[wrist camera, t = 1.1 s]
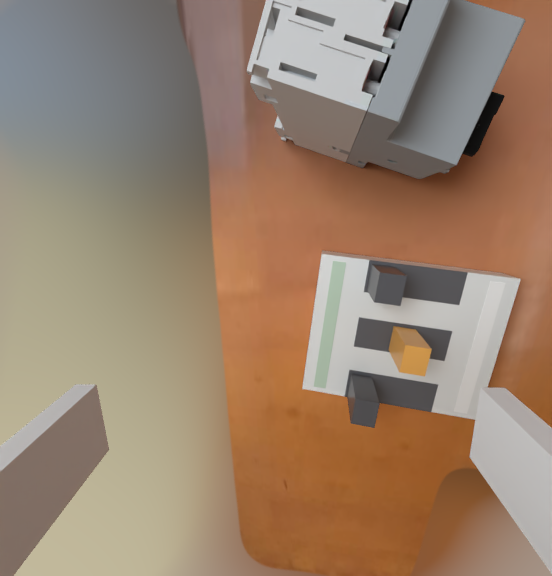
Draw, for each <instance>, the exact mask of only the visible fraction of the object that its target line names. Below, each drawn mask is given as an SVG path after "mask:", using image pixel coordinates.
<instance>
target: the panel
mask: <svg viewBox="0 0 552 576" xmlns="http://www.w3.org/2000/svg"><path fill="white" fill-rule="evenodd" d="M371 264H377V265H385V266H393V267H395V268H397V269H398V270H399V271H401V272H402V273H404V274H405V275H406V276H407V278H406V283H405V287H404V292H403V297H402V301H401V306H396V305H389V304H382V303H375V302H374V301H373V300H372V298H371V296H370V294H369V293H368V291H367V285H368V280H369V274H370V269H371ZM520 280H521V279H519V278H516V277H513V276H510V275H507V274H504V273H499V272H491V271H483V270H475V269H467V268H459V267H451V266H443V265H435V264H427V263H419V262H411V261H403V260H395V259H387V258H379V257H371V256H363V255H355V254H347V253H339V252H331V251H323V250H322V254H321V261H320V268H319V275H318V282H317V289H316V296H315V303H314V310H313V317H312V324H311V331H310V337H309V344H308V351H307V358H306V365H305V372H304V380H303V388H302V389H307V390H312V391H318V392H324V393H329V394H335V395H340V396H345V397H347V393H348V388H349V382H350V377H351V374H356V375H362V376H368V377H372V379H373V383H374V386H375V390H376V393H377V396H378V400H379V403H384V404H389V405H395V406H400V407H406V408H411V409H417V410H423V411H428V412H435V413H441V414H446V415H452V416H457V417H463V418H468V419H474V420H476V413H477V407H478V401H479V395H480V388H488V384H489V381H490V378H491V375H492V371H493V368H494V365H495V362H496V358H497V355H498V352H499V348H500V345H501V342H502V339H503V335H504V332H505V329H506V326H507V322H508V319H509V316H510V313H511V309H512V306H513V303H514V300H515V296H516V293H517V290H518V286H519V283H520ZM393 326H396V327H403V328H409V329H416V330H417V332H418V333H419V334H420V335H421V336H422V338H423V339H424V340H425V341H426V343H427V344H428V345H429V346H430V348H431V349H432V350H431V354H430V358H429V362H428V366H427V370H426V374H425V376H419V375H413V374H407V373H401V372H399V371H398V368H397V366H396V364H395V362H394V360H393V358H392V356H391V354H390V352H389V345H390V341H391V336H392V331H393Z"/></svg>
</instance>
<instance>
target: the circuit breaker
mask: <svg viewBox="0 0 552 576" xmlns="http://www.w3.org/2000/svg"><path fill="white" fill-rule="evenodd" d="M524 23H525V19H523V18H519V17H516V16H513V15H510V14H507V13H503V12H500V11H497V10H494V9H491V8H487V7H484V6H481V5H478V4H475V3H471V2H468V1H465V0H266V3H265V6H264V10H263V14H262V17H261V21H260V24H259V28H258V32H257V35H256V39H255V42H254V46H253V50H252V53H251V57H250V60H249V64H248V68H247V73H248V74H250V75H252V78H251V81H250V84H251V86H252V88H253V90H254V92H255V94H256V95H257V97H258V99H259V100H261V101H264V102H267V103H270V104H273V106H274V108H275V111H276V113H277V115H278V116H277V120H276V123H275V126H274V127H275V129H276V131H277V133H278V134H279V136H281V137H282V138H281V140H283V141H286V140H287V139H289V140H292V141H293V142H294V144H295V145H297V146H300V147H303V148H306V149H309V150H312V151H315V152H318V153H320V154H323V155H326V156H329V157H332V158H335V159H338V160H340V161H343V162H346V163H349V164H352V165H355V166H358V167H361V168H363V167H364V166H365V164H367V162H370V163H373V164H376V165H379V166H382V167H385V168H388V169H391V170H394V171H396V172H399V173H402V174H405V175H408V176H411V177H414V178H417V179H422V178H425V177H427V176H430V175H433V174H435V173H438V172H441V173H444V174H445V173H448V172H449V170H450V168H451V167H454V166H456V165H457V163H458V161H459V159H460V157H461V155H462V154H465V155H468V156H471V157H472V156H474V155H475V154H476V152H477V151H478V149H479V148H480V145H481V143H482V141H483V138H484V136H485V134H486V132H487V129H488V127H489V125H490V123H491V121H492V118H493V116H494V115H495V114H496V113H497V111H498V109H499V107H500V105H501V103H502V101H503V98H504V95H501V94H498V93H495V92H492V90H493V88H494V86H495V83H496V81H497V79H498V77H499V75H500V73H501V71H502V69H503V67H504V65H505V63H506V60H507V58H508V56H509V54H510V52H511V50H512V48H513V46H514V44H515V42H516V39H517V37H518V35H519V33H520V31H521V29H522V27H523V25H524ZM372 96H373V97H372ZM371 98H372V100H371ZM370 101H371V103H370ZM369 104H370V105H369ZM367 109H368V110H367ZM366 112H367V113H366ZM362 121H363V122H362ZM361 124H362V125H361ZM360 126H361V127H360ZM358 131H359V132H358ZM356 136H357V137H356ZM355 138H356V139H355ZM347 158H348V159H347ZM346 160H347V161H346Z"/></svg>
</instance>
